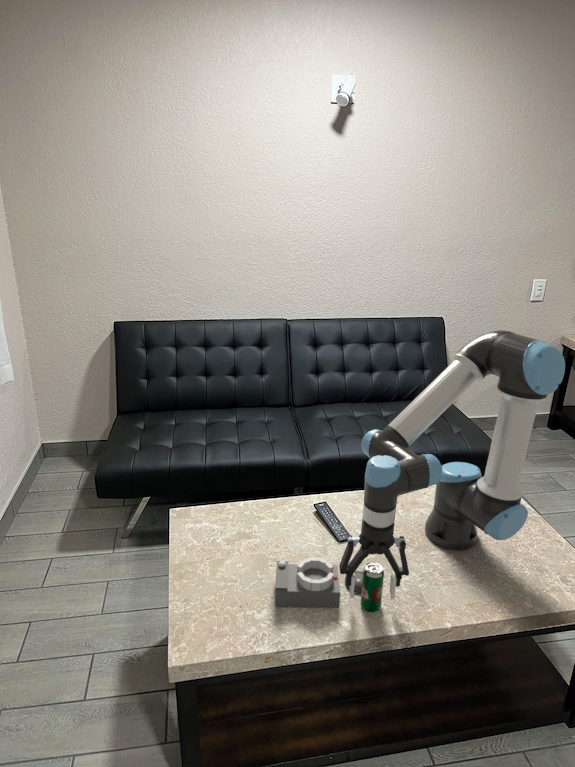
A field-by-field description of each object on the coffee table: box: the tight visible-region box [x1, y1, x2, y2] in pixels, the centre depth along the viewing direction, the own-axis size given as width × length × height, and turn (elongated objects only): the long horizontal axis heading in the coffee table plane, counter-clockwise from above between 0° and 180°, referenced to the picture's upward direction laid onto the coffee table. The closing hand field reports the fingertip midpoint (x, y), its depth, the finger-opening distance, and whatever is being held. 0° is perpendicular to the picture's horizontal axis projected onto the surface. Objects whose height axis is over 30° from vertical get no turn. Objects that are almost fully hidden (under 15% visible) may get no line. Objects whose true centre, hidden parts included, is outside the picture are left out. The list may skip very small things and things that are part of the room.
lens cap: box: [344, 570, 363, 595], centre depth 142 cm, size 8×8×1 cm
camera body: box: [274, 557, 341, 609], centre depth 137 cm, size 16×10×8 cm, turn 89°
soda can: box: [360, 561, 385, 613], centre depth 133 cm, size 5×5×12 cm
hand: (371, 594), depth 133 cm, fingers open, 9 cm apart
